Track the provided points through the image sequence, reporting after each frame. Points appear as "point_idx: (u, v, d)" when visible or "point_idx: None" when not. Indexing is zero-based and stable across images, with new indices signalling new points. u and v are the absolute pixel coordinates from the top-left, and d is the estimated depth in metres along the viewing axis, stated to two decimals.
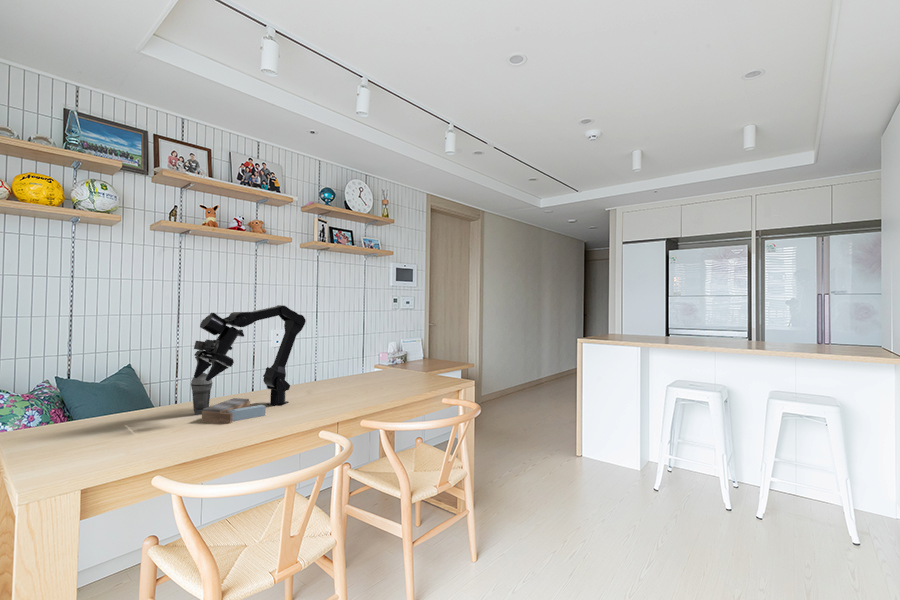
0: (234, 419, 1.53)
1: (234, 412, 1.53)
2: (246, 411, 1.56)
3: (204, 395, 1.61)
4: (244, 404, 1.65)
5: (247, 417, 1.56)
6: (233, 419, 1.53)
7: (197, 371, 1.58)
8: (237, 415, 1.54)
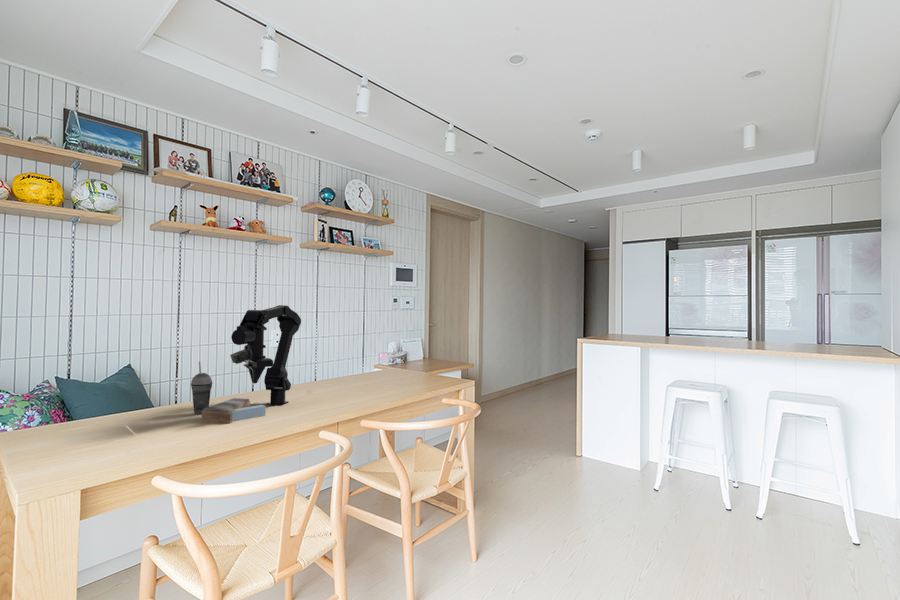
0: (234, 419, 1.53)
1: (234, 412, 1.53)
2: (246, 411, 1.56)
3: (204, 395, 1.61)
4: (244, 404, 1.65)
5: (247, 417, 1.56)
6: (233, 419, 1.53)
7: (252, 377, 1.64)
8: (237, 415, 1.54)
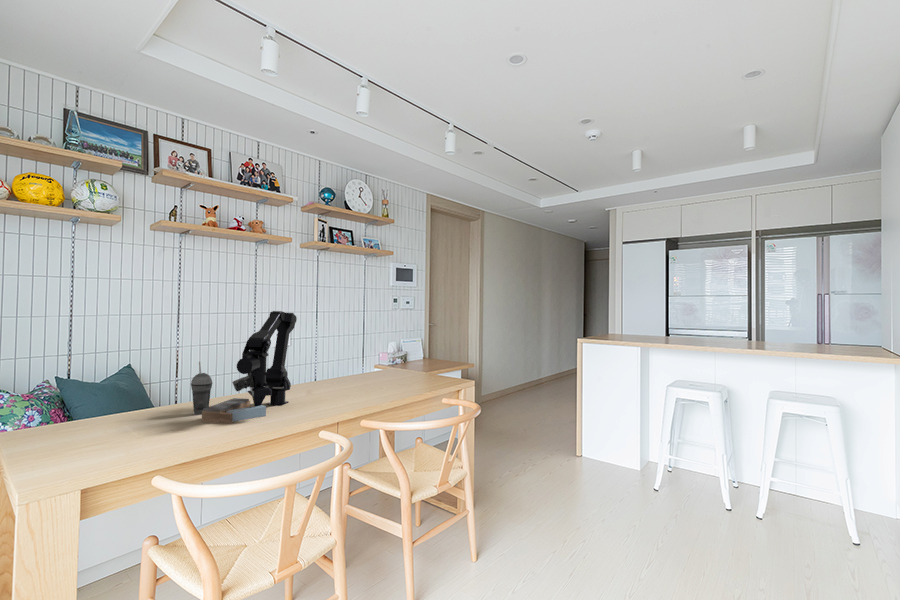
0: (234, 419, 1.53)
1: (234, 412, 1.53)
2: (246, 411, 1.56)
3: (204, 395, 1.61)
4: (244, 404, 1.65)
5: (247, 417, 1.56)
6: (233, 419, 1.53)
7: None
8: (237, 415, 1.54)
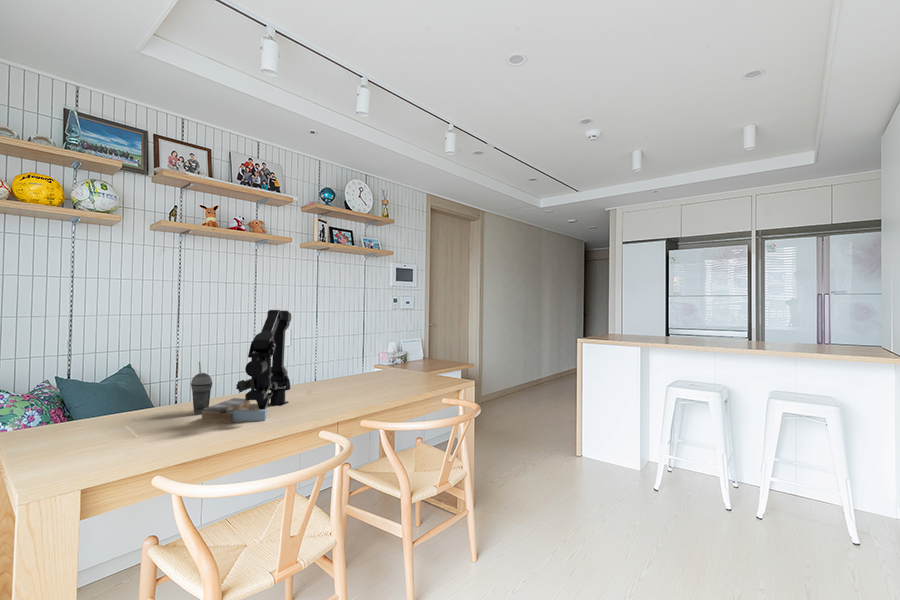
0: (232, 420, 1.52)
1: None
2: (244, 413, 1.53)
3: (204, 395, 1.61)
4: (244, 404, 1.65)
5: (245, 420, 1.53)
6: None
7: None
8: (234, 416, 1.52)
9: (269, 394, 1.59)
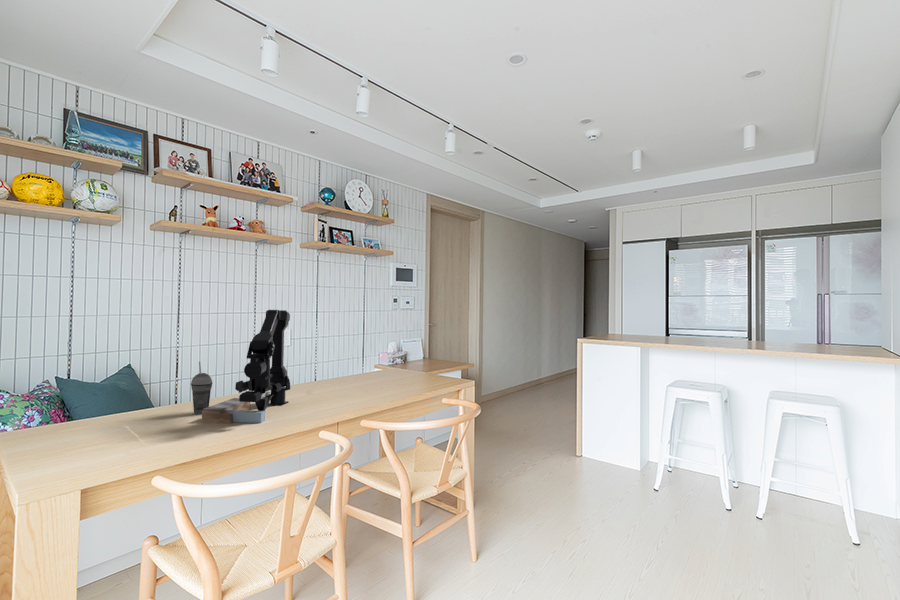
0: None
1: None
2: (241, 414, 1.52)
3: (204, 395, 1.61)
4: (244, 404, 1.65)
5: (242, 421, 1.52)
6: None
7: None
8: (233, 416, 1.52)
9: (268, 396, 1.56)
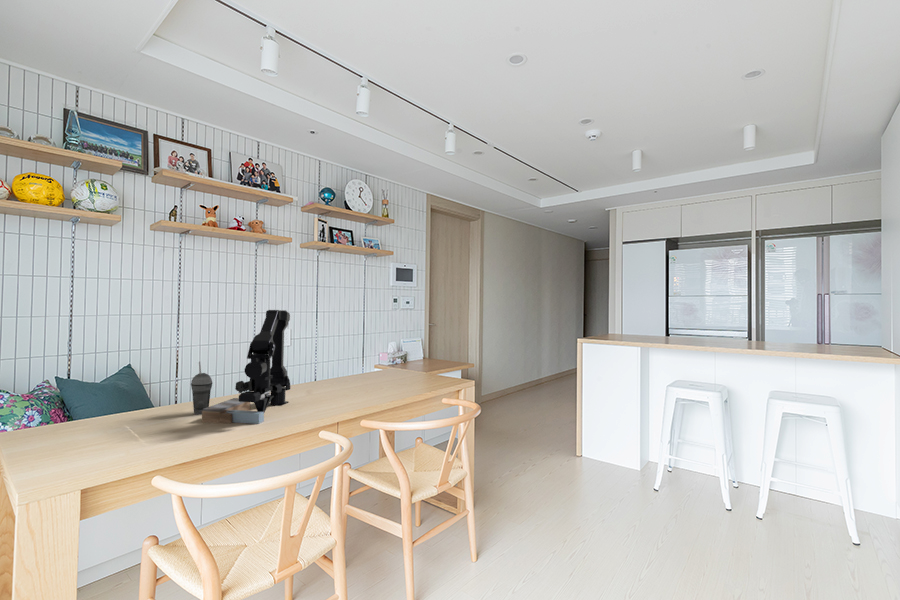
0: None
1: None
2: (240, 414, 1.51)
3: (204, 395, 1.61)
4: (244, 404, 1.65)
5: (241, 421, 1.51)
6: None
7: None
8: (232, 417, 1.52)
9: (268, 396, 1.56)
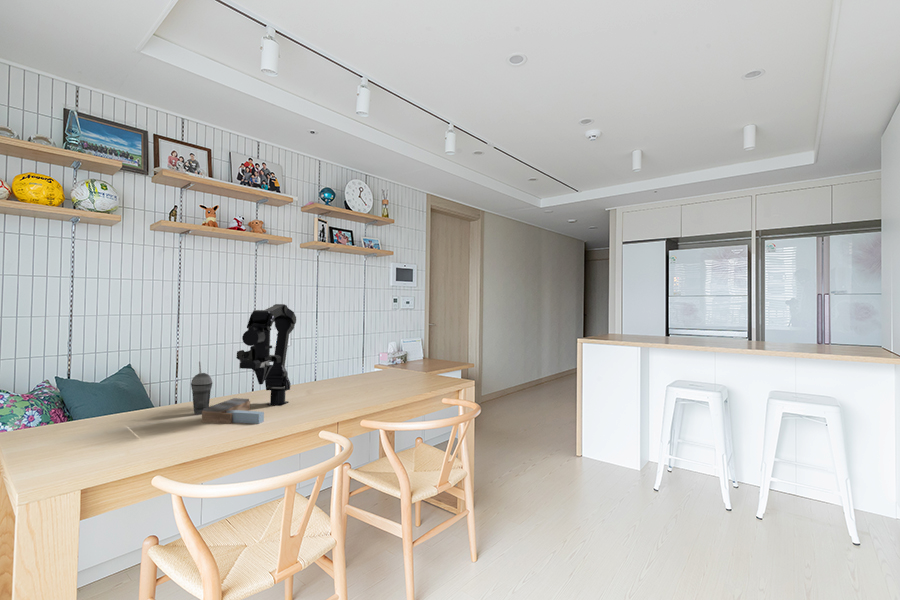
0: None
1: None
2: (240, 414, 1.51)
3: (204, 395, 1.61)
4: (244, 404, 1.65)
5: (241, 421, 1.51)
6: None
7: None
8: (232, 417, 1.52)
9: (268, 366, 1.62)
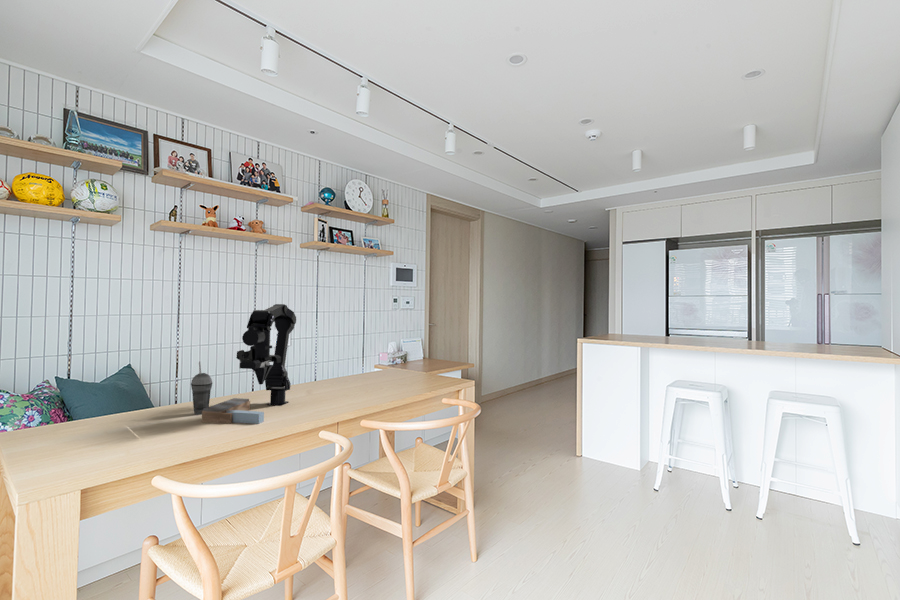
0: None
1: None
2: (240, 414, 1.51)
3: (204, 395, 1.61)
4: (244, 404, 1.65)
5: (241, 421, 1.51)
6: None
7: None
8: (232, 417, 1.52)
9: (268, 366, 1.62)
